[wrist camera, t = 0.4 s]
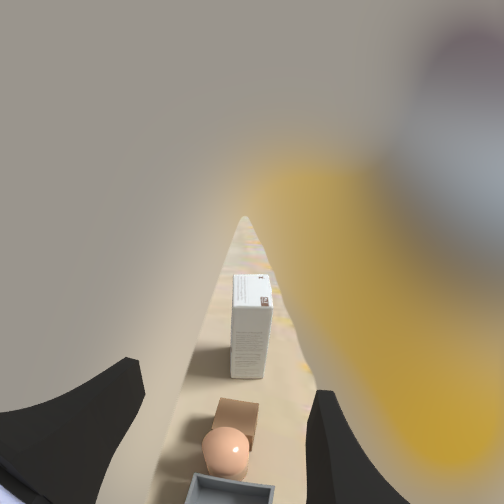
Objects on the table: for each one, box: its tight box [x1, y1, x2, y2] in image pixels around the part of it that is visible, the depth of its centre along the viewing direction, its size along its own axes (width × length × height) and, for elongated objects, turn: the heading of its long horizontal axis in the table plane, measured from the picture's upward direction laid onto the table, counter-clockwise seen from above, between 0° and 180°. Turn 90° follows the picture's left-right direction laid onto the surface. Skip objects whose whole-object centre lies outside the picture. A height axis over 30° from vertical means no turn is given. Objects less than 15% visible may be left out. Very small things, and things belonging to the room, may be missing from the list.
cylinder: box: [202, 427, 249, 481], centre depth 23 cm, size 4×4×6 cm
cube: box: [211, 398, 259, 451], centre depth 28 cm, size 4×4×4 cm
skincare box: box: [230, 274, 273, 379], centre depth 35 cm, size 6×4×12 cm
